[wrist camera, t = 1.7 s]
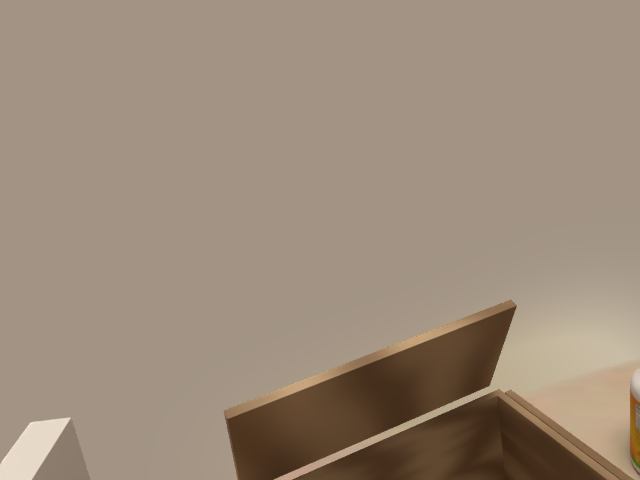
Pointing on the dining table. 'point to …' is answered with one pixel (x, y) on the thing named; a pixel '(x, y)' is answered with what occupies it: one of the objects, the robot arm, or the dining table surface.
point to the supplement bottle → (635, 419)
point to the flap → (366, 395)
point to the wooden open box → (477, 448)
